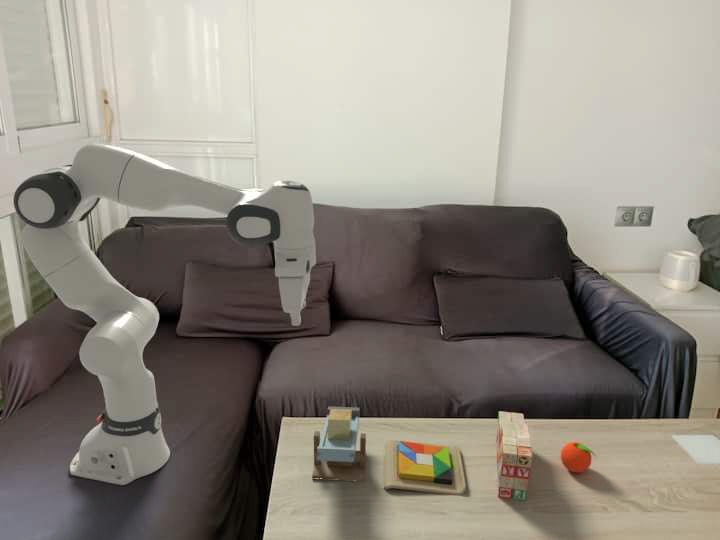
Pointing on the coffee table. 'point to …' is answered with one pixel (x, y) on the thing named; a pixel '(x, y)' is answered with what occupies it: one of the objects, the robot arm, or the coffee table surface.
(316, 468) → the pivot stand
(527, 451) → the stack of blocks
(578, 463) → the clementine
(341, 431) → the block
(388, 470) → the wooden puzzle
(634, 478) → the coffee table surface
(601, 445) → the coffee table surface
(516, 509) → the coffee table surface
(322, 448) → the beam
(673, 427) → the coffee table surface
